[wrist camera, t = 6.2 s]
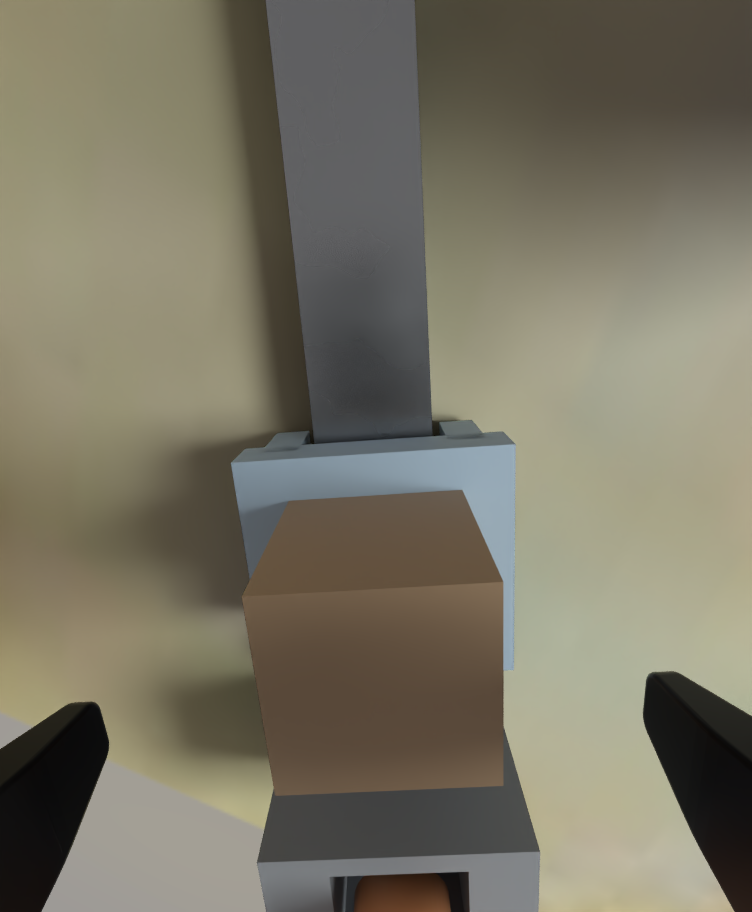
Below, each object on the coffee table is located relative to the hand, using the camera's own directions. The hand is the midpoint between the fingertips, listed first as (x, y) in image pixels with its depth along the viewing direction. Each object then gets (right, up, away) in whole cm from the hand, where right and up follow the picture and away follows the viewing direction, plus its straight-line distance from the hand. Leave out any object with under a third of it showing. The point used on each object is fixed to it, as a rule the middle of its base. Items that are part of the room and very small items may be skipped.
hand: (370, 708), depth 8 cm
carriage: (0, +2, +7) cm, 7 cm away
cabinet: (+1, -5, +9) cm, 10 cm away
